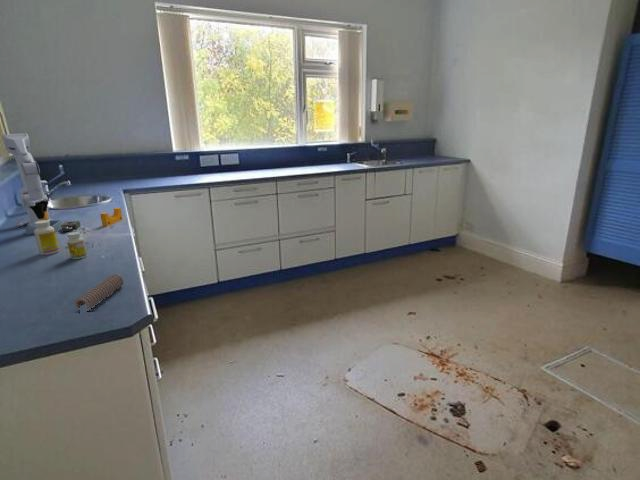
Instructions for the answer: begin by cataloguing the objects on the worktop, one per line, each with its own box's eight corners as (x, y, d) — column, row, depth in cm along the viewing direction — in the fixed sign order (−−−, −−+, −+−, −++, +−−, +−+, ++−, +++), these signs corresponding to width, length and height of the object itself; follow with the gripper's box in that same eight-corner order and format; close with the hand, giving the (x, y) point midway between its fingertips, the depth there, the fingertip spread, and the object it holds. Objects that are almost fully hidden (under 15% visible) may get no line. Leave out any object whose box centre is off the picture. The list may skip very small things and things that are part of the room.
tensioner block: (66, 226, 188) (65, 221, 187) (80, 225, 189) (79, 220, 188) (58, 233, 178) (57, 227, 177) (73, 232, 179) (72, 226, 179)
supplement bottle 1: (63, 250, 155) (56, 220, 151) (48, 256, 150) (39, 224, 145) (51, 249, 158) (44, 218, 153) (35, 254, 152) (27, 223, 148)
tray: (36, 227, 187) (35, 221, 186) (63, 225, 190) (61, 219, 189) (26, 234, 177) (24, 228, 176) (54, 232, 179) (53, 226, 178)
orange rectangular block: (43, 224, 183) (40, 211, 181) (50, 223, 184) (47, 210, 182) (40, 225, 181) (37, 212, 179) (48, 225, 181) (44, 212, 179)
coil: (109, 273, 122) (69, 300, 105) (123, 272, 122) (85, 299, 105) (113, 286, 124) (75, 315, 107) (127, 285, 123) (90, 314, 106)
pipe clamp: (115, 219, 200) (112, 207, 197) (122, 220, 199) (120, 207, 197) (99, 226, 188) (96, 213, 186) (107, 226, 188) (105, 213, 186)
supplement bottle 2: (89, 256, 149) (84, 232, 146) (75, 260, 145) (69, 236, 142) (82, 253, 152) (77, 230, 149) (68, 257, 148) (62, 234, 145)
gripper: (38, 191, 171) (46, 220, 175) (51, 185, 184) (57, 213, 189) (20, 192, 169) (28, 222, 174) (34, 186, 183) (41, 214, 187)
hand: (42, 217), depth 181 cm, fingers closed on orange rectangular block, 3 cm apart
